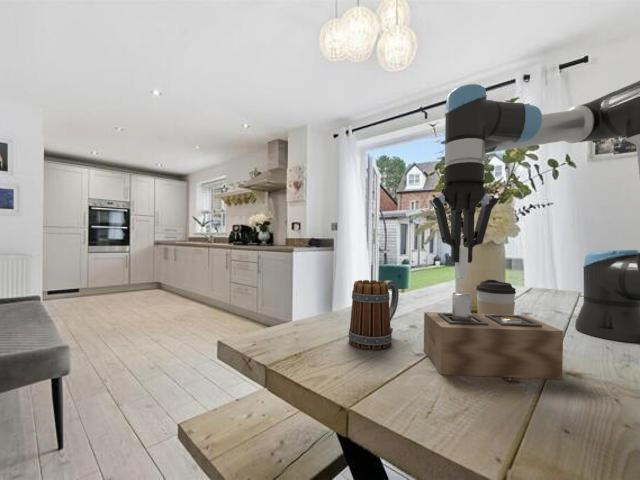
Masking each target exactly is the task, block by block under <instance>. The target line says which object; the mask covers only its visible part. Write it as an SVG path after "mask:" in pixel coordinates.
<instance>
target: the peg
mask: <svg viewBox="0 0 640 480" xmlns="http://www.w3.org/2000/svg"><path fill="white" fill-rule="evenodd" d="M451 296H452V301H451V302H452V304H451V306H452V308H451V309H452V311H451V313H452V321H462V322H471V313H472V293H469V292H460V291H459V292H452V295H451Z"/></svg>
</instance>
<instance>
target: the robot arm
mask: <svg viewBox="0 0 640 480" xmlns="http://www.w3.org/2000/svg"><path fill="white" fill-rule="evenodd" d="M487 97H488V95H487V90H486V88H485V87H484V86H482V85H481V84H475V83H471V84H470V83H469V84H464V85H459V86H458V87H456V88H454V89H453V90H452V91H450V93H449V94H448V95H447V97H446V102H445V103H446V104H445V112H444V118H445V120H444V121H445V125H444V126H445V130H444V165H445V167H444V170H443V171H444V172H443V188H442V189H441V194H439V195H437V196H436V197H434V198H431V199H430V201H429V202H430V204H431V206H432V207H433V209H434V212H435V215H436V221H437V224H438V229H439V233H440V238H441V239H440V240H441V242H442V244H446V245H449V246H450V261H451V262H452V263H455V267H454V278H455V279H458V280H468V271H469V270H468V269H469V268H468V266H469V265H468V264H469V263H470V264H472V262H473V251H474V250H473V249H474V247H476V246H478V245H482V244H483V243H484V239H485V237H486V236H485V235H486V232H487V229H488V225H489V221H490V218H491V215H492V210H493V208H494V207H495V205H496V204H497V203H498V199H497V198H496V197H493V198H492V197H491V196H489V195H488V194H486V189H485V187H484V181H485V165H484V164H483V163H484V161H485V155H486V154H489V153H494V152H500V151H507V150H514V149H520V148H528V147H533V146H539V145H546V144H553V143H559V142H565V143H568V144H576V143H583V142H585V143H586V142H593V141H601V140H602V141H603V140H611V139H616V138H621V137H624V136H625V137H626V141H627V142H629V143H631V144H633V145H635V146H636V154H637V155H636V156H637V167H638V174H639V175H638V176H639V179H640V80H638V81H635V82H633V83H631V84H628V85H626V86H624V87H621V88H619V89H617V90H614V91H612V92H609V93H607V94H605V95H602V96H601V97H599V98H596V99H594V100H592V101H588V102H586V103H583V104H577V105H574V106H571V107H569V108H567V109H566V110H564V111H558V112H550V113H544V114H543V113H542V111H541V109H540V108H539V107H538V106H535V105H531V104H527V103H524V102H519V103H518V102H509V101H508V102H507V101H497V100H492V99H487ZM445 202H446V204H447V205H448V206H449V208H450V225H449V221H448V218H447V213H446V208H445V206H444V205H445ZM480 202H481V203H480ZM479 204H481V208H480V210H479V213H478V217H477V220H476V224H475V214H476V211H477V210H476V209H477V208H476V207H477V206H478V205H479ZM462 215H463V228H462ZM462 229H463V230H462ZM462 231H463V232H462ZM462 234H463V235H462ZM461 243H462V245H463V246H461ZM583 263H584V264H583V304H582V305H581V308H580V310H579V312H578V316H577V317H576V319H575V321H574V322H575V325H574V326H575V327H574V328H575V329H576V331H578V332H581V333H583V334H586V335H589V336H593V337H596V338H602V339H604V340H605V339H606V340H612V341H617V342H627V343H628V342H629V343H640V248H639V249H621V250H620V249H619V250H617V249H616V250H604V251H603V250H602V251H594V252H593V251H592V252H589V253H587V254H586V255H585V256H584V262H583Z"/></svg>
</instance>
